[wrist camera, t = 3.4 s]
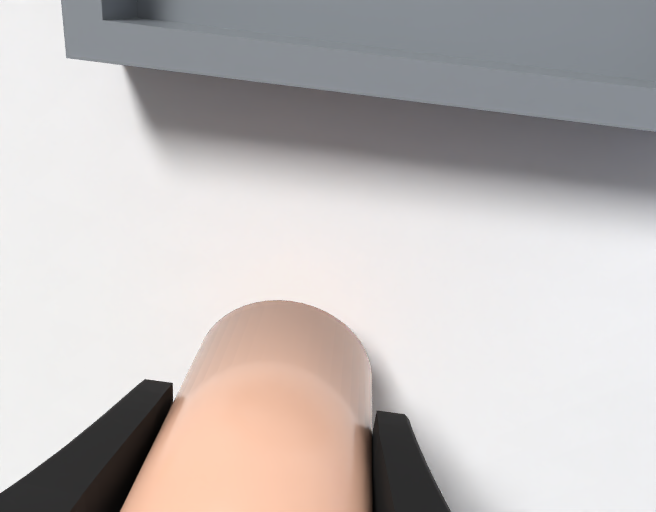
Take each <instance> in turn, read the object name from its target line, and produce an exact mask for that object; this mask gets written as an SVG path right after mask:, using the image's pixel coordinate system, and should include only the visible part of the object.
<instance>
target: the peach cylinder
mask: <svg viewBox="0 0 656 512" xmlns="http://www.w3.org/2000/svg"><path fill="white" fill-rule="evenodd" d="M120 512H373V494H372V371H371V366H370V361H369V358H368V356H367V353H366V351H365V349H364V347H363V345H362V344H361V342H360V340H359V339H358V338H357V337H356V335H355V334H354V333H353V332H352V331H351V330H350V329H349V328H348V327H347V326H346V325H345V324H344V323H342V322H341V321H340V320H338V319H337V318H335V317H334V316H332V315H330V314H329V313H327V312H325V311H323V310H320V309H318V308H316V307H313V306H310V305H306V304H303V303H298V302H293V301H282V300H274V301H263V302H256V303H252V304H249V305H245V306H243V307H240V308H238V309H236V310H234V311H232V312H230V313H229V314H227V315H225V316H224V317H223V318H222V319H220V320H219V321H218V322H217V323H216V324H215V325H214V326H213V327H212V328H211V329H210V331H209V332H208V334H207V335H206V337H205V338H204V340H203V343H202V345H201V347H200V349H199V351H198V353H197V355H196V357H195V359H194V361H193V363H192V365H191V367H190V369H189V371H188V373H187V375H186V377H185V379H184V381H183V383H182V386H181V388H180V390H179V392H178V394H177V396H176V398H175V400H174V402H173V404H172V406H171V408H170V410H169V412H168V414H167V416H166V418H165V420H164V422H163V424H162V426H161V429H160V431H159V433H158V435H157V437H156V439H155V441H154V443H153V445H152V447H151V449H150V451H149V453H148V455H147V457H146V459H145V461H144V463H143V465H142V467H141V469H140V471H139V474H138V476H137V478H136V480H135V482H134V484H133V486H132V488H131V490H130V492H129V494H128V496H127V498H126V500H125V502H124V504H123V506H122V508H121V510H120Z"/></svg>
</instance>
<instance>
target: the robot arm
mask: <svg viewBox="0 0 656 512" xmlns="http://www.w3.org/2000/svg"><path fill="white" fill-rule="evenodd" d="M172 404H173V383H169V382H161V381H154V380H146V379H145V380H144V381H142V382H141V383H139V384H138V385H137V386H136V387H135V388H134V389H133V390H131V391H130V392H129V393H128V394H127V395H126V396H125V397H123V398H122V399H121V400H120V401H119V402H118V403H117V404H115V405H114V406H113V407H112V408H111V409H110V410H108V411H107V412H106V413H105V414H104V415H103V416H101V417H100V418H99V419H98V420H97V421H96V422H94V423H93V424H92V425H91V426H89V427H88V428H87V429H86V430H85V431H83V432H82V433H81V434H80V435H78V436H77V437H76V438H75V439H73V440H72V441H71V442H70V443H69V444H67V445H66V446H65V447H64V448H62V449H61V450H60V451H58V452H57V453H56V454H54V455H53V456H52V457H50V458H49V459H48V460H46V461H45V462H44V463H42V464H41V465H40V466H38V467H37V468H36V469H34V470H33V471H32V472H30V473H29V474H27V475H26V476H25V477H23V478H22V479H20V480H19V481H18V482H16V483H15V484H13V485H12V486H10V487H9V488H7V489H6V490H4V491H3V492H1V493H0V512H120V510H121V508H122V506H123V504H124V502H125V500H126V498H127V496H128V494H129V492H130V490H131V488H132V486H133V484H134V482H135V480H136V478H137V476H138V474H139V471H140V469H141V467H142V465H143V463H144V461H145V459H146V457H147V455H148V453H149V451H150V449H151V447H152V445H153V443H154V441H155V439H156V437H157V435H158V433H159V431H160V429H161V426H162V424H163V422H164V420H165V418H166V416H167V414H168V412H169V410H170V408H171V406H172ZM372 494H373V512H451V511H450V509H449V507H448V505H447V504H446V502H445V500H444V498H443V496H442V494H441V492H440V490H439V488H438V486H437V484H436V482H435V480H434V478H433V476H432V474H431V472H430V470H429V468H428V465H427V463H426V461H425V459H424V456H423V454H422V452H421V450H420V447H419V445H418V443H417V440H416V438H415V435H414V432H413V430H412V427H411V424H410V421H409V419H408V418H407V416H406V415H405V414H398V413H391V412H383V411H377V412H376V417H375V422H374V428H373V433H372Z"/></svg>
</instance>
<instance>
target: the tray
mask: <svg viewBox="0 0 656 512" xmlns="http://www.w3.org/2000/svg"><path fill="white" fill-rule="evenodd" d="M61 4H62V15H63V26H64V37H65V48H66V58H71V59H79V60H87V61H95V62H103V63H111V64H119V65H127V66H135V67H142V68H150V69H158V70H166V71H174V72H182V73H190V74H198V75H206V76H214V77H222V78H230V79H238V80H246V81H254V82H262V83H270V84H278V85H286V86H294V87H302V88H310V89H318V90H326V91H334V92H342V93H350V94H358V95H366V96H374V97H382V98H390V99H398V100H406V101H414V102H422V103H430V104H438V105H446V106H454V107H461V108H469V109H477V110H485V111H493V112H501V113H509V114H517V115H525V116H533V117H541V118H549V119H557V120H565V121H573V122H581V123H589V124H597V125H605V126H613V127H621V128H629V129H637V130H645V131H653V132H656V0H61Z"/></svg>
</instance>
